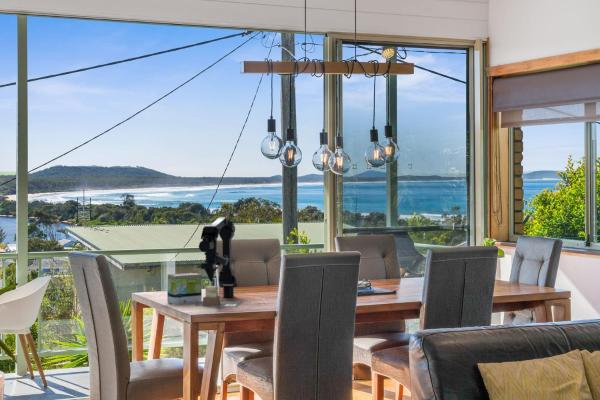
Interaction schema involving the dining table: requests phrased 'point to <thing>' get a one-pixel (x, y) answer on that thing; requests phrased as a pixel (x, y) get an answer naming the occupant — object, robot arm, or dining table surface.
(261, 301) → the dining table surface
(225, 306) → the build mat
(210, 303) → the walnut block
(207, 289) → the grey green cube
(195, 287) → the tea box
